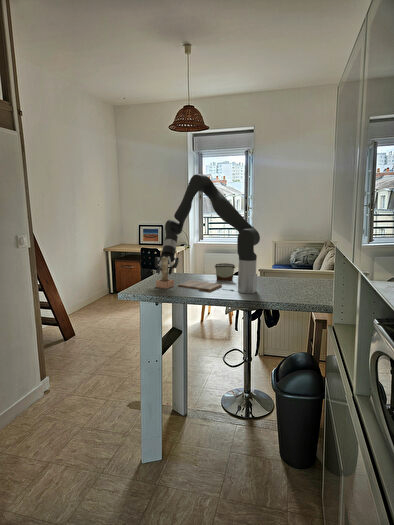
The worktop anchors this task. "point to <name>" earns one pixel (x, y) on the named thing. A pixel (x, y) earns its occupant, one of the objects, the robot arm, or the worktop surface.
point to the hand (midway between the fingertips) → (163, 273)
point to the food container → (224, 271)
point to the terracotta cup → (164, 283)
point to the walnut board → (200, 285)
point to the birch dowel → (165, 269)
